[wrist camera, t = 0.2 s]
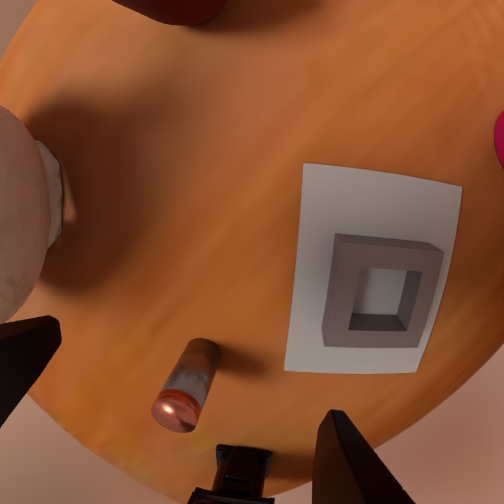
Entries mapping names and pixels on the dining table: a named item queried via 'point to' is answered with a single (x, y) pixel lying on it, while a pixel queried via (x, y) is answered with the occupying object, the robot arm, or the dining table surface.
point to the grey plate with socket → (368, 269)
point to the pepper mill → (499, 138)
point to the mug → (176, 10)
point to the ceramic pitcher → (25, 211)
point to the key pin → (187, 387)
